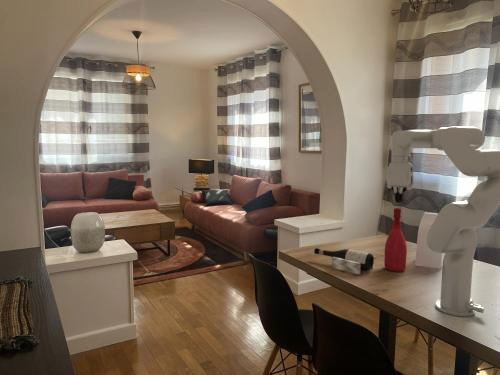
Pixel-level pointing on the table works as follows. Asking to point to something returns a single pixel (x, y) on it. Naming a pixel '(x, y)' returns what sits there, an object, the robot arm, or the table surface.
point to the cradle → (347, 266)
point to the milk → (423, 251)
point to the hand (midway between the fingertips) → (398, 202)
